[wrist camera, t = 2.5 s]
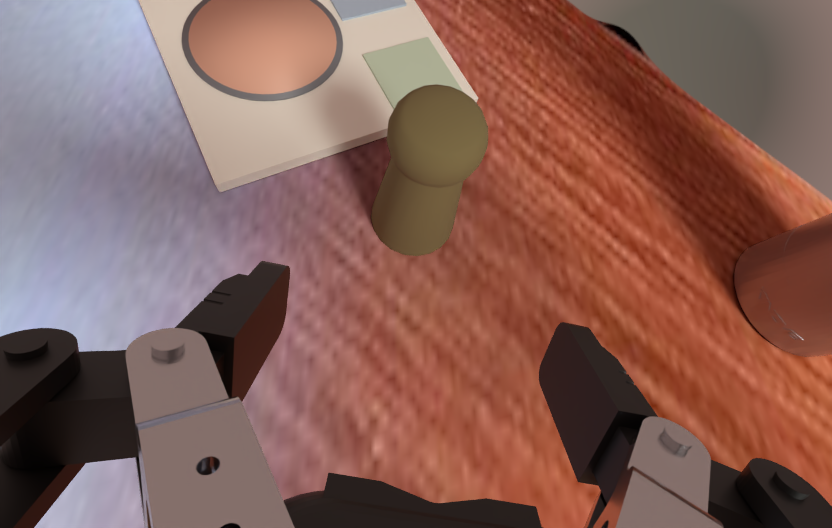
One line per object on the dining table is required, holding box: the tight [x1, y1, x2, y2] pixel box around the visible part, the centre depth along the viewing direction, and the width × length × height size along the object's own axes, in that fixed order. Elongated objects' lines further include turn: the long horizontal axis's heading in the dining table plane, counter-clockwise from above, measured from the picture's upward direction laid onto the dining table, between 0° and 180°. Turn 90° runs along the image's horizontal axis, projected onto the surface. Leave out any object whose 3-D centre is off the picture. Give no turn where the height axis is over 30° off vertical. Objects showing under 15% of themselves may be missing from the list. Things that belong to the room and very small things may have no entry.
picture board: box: [139, 0, 478, 192], centre depth 32 cm, size 21×18×1 cm
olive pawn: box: [371, 84, 488, 256], centre depth 24 cm, size 6×6×11 cm
